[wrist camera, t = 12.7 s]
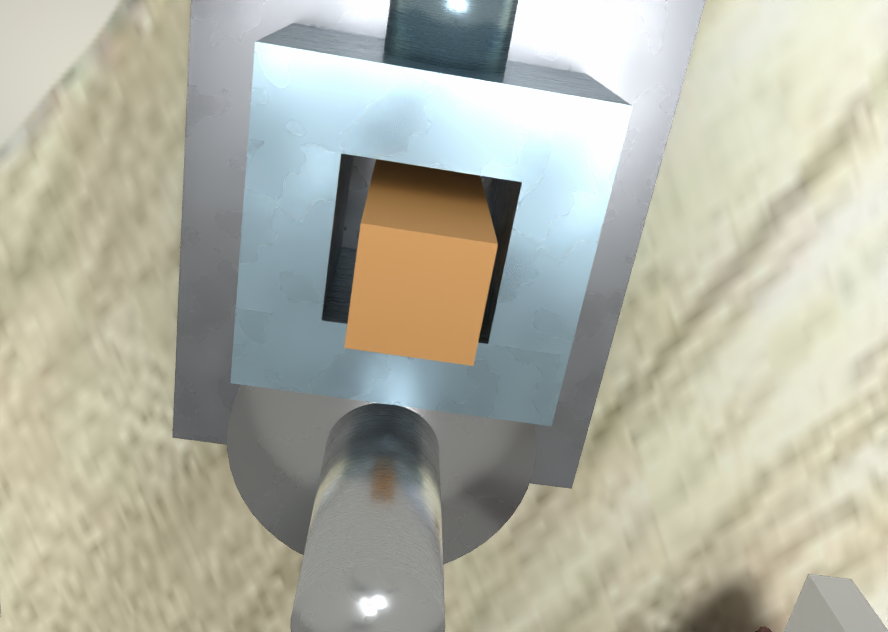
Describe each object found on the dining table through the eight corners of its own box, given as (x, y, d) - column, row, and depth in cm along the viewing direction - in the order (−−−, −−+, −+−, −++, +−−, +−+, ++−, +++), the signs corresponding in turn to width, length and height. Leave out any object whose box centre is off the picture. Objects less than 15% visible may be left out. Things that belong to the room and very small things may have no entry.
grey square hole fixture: (556, 510, 44) (625, 798, 29) (178, 463, 42) (43, 743, 27) (697, -14, 34) (920, 8, 19) (205, -105, 32) (10, -162, 17)
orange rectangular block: (474, 153, 35) (497, 244, 24) (458, 242, 36) (473, 365, 25) (380, 138, 34) (360, 223, 23) (368, 229, 36) (344, 347, 25)
